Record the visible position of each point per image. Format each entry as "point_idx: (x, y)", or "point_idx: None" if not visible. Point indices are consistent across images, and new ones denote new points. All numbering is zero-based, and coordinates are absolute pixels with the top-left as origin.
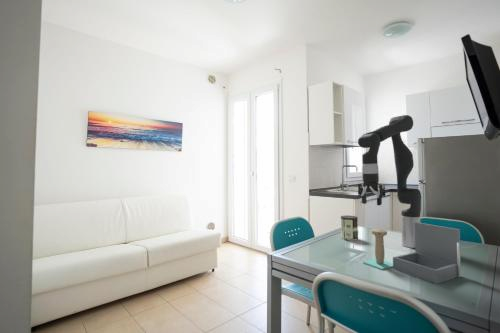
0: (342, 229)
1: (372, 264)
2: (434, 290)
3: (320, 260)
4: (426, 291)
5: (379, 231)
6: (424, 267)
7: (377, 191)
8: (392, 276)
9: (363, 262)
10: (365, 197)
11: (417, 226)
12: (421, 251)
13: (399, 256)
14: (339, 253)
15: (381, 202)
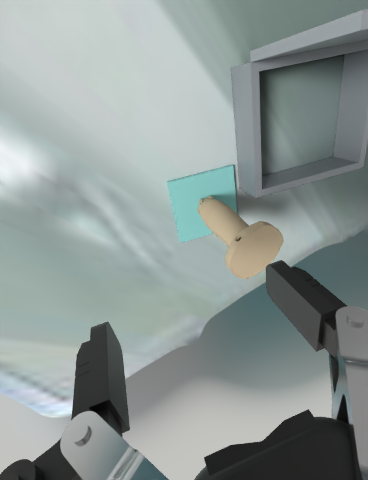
0: None
1: (206, 231)
2: (346, 193)
3: (132, 331)
4: (339, 211)
5: (263, 257)
6: (337, 174)
7: (365, 409)
8: None
9: (180, 241)
10: (114, 394)
11: (354, 33)
12: (278, 56)
13: (259, 172)
14: (77, 267)
15: (310, 279)
